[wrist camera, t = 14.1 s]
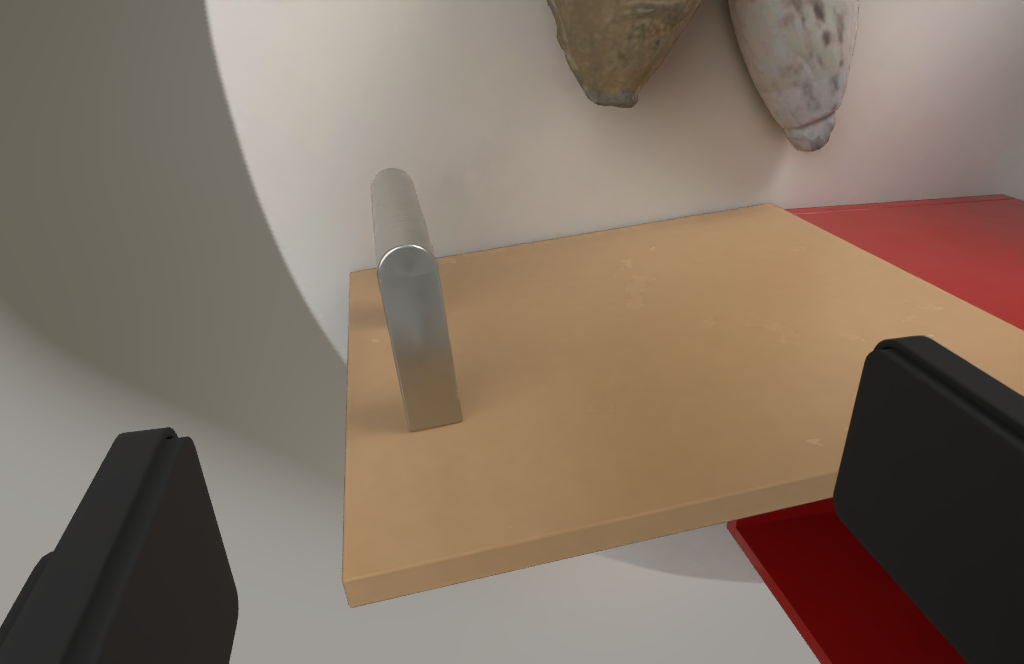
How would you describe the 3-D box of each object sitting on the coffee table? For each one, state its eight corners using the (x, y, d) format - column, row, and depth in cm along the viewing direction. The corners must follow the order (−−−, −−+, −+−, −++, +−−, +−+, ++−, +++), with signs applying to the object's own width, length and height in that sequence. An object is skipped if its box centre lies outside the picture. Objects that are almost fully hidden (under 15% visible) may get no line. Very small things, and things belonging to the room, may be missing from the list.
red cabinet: (726, 528, 51) (956, 860, 31) (780, 209, 40) (1179, 412, 21) (906, 500, 53) (1221, 790, 34) (1002, 194, 43) (1540, 361, 23)
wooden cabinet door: (322, 150, 33) (275, 359, 14) (780, 85, 36) (1243, 185, 17) (353, 289, 37) (349, 609, 18) (769, 219, 40) (1149, 426, 21)
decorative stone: (750, 165, 38) (784, 180, 35) (683, -150, 31) (718, -165, 28) (850, 120, 38) (892, 131, 35) (807, -206, 31) (855, -227, 28)
